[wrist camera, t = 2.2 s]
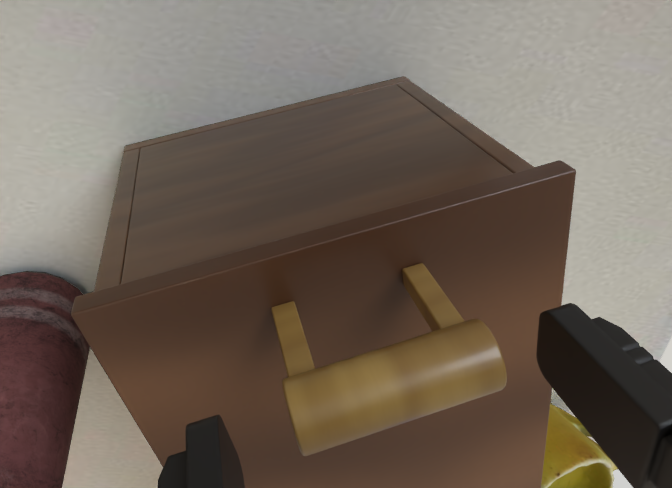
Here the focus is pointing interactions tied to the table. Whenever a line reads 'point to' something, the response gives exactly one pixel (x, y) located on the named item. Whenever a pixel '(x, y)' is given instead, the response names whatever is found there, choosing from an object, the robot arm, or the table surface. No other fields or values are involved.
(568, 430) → the mug
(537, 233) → the lid
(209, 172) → the wooden box
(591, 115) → the table surface
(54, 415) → the can
